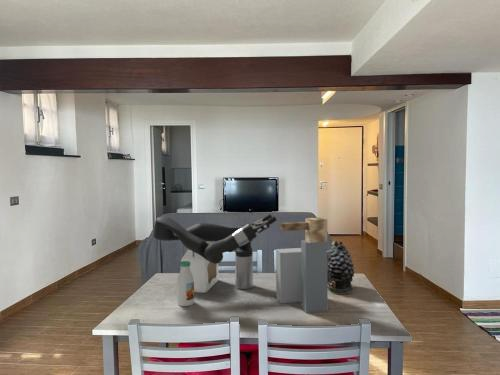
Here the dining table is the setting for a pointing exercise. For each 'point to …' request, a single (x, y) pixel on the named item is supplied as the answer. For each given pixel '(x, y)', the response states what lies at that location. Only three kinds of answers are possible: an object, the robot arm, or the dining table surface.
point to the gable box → (201, 271)
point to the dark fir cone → (339, 269)
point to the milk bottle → (185, 285)
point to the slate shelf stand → (303, 276)
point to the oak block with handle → (309, 229)
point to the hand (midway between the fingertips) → (273, 217)
